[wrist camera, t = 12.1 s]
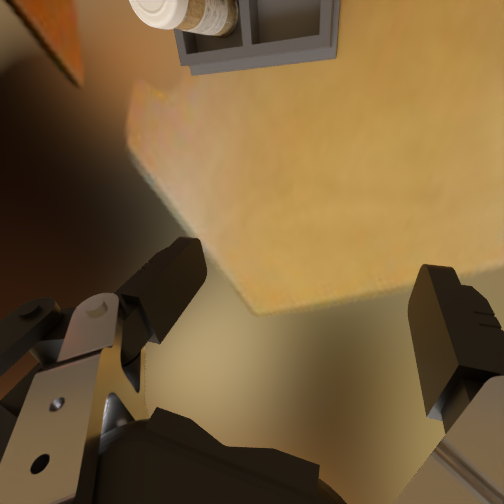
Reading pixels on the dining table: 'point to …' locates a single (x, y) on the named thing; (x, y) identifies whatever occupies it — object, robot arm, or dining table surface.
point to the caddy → (265, 37)
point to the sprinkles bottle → (190, 15)
